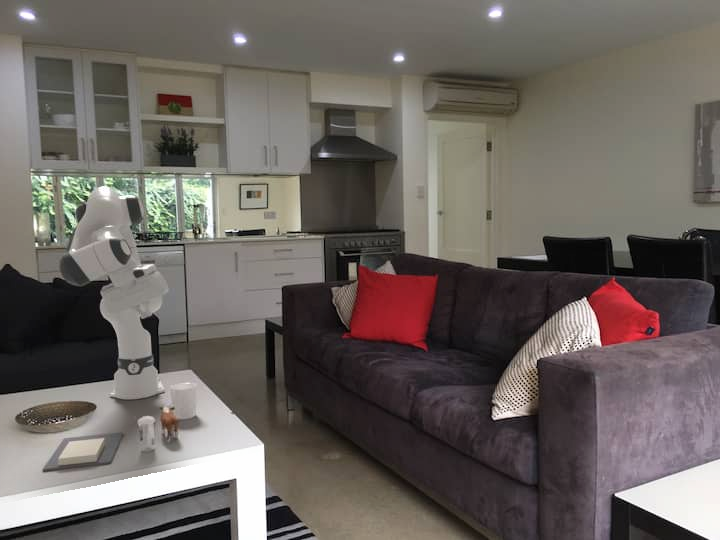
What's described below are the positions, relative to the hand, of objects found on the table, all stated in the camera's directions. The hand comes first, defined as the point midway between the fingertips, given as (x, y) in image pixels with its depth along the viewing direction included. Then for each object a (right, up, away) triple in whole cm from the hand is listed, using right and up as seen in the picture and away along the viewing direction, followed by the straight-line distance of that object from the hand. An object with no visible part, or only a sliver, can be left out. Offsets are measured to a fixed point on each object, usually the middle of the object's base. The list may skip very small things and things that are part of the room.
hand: (147, 316), depth 179 cm
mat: (-9, -35, -21) cm, 42 cm away
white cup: (+10, -33, +7) cm, 35 cm away
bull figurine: (+10, -34, -11) cm, 37 cm away
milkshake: (+7, -35, -21) cm, 41 cm away
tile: (-10, -33, -19) cm, 40 cm away
